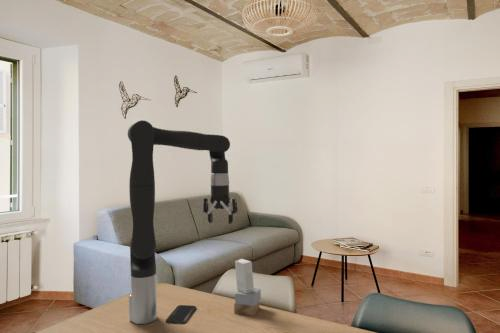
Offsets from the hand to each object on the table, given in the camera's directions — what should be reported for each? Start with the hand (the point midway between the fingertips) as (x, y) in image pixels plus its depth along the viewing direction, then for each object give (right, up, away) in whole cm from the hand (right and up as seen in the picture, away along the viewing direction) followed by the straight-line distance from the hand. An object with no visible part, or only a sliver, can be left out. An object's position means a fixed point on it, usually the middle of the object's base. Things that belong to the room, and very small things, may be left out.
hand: (220, 223), depth 151 cm
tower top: (+11, -30, -6) cm, 33 cm away
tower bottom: (+11, -34, -5) cm, 36 cm away
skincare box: (+10, -26, -5) cm, 29 cm away
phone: (-15, -35, -9) cm, 39 cm away
